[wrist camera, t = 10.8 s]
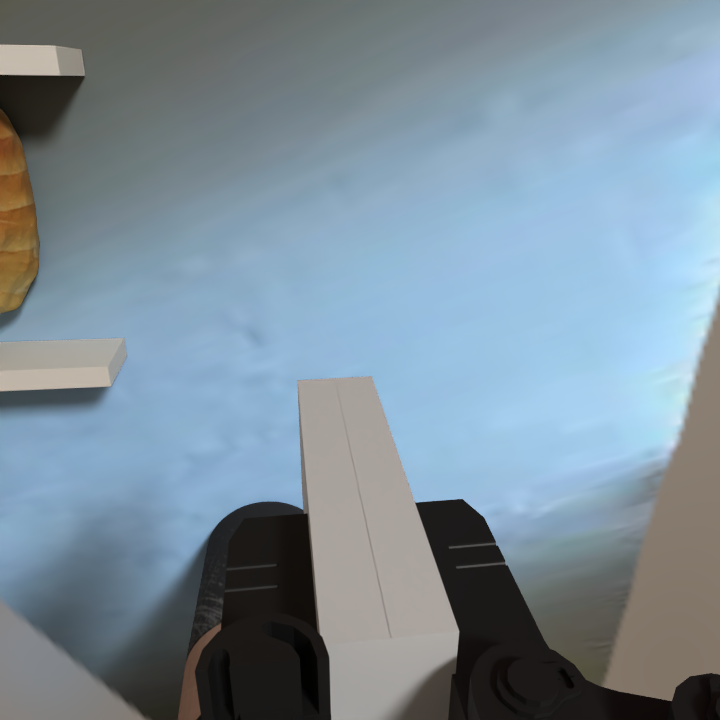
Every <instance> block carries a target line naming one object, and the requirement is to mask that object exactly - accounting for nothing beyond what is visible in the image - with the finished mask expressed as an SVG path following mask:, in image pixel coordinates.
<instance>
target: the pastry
mask: <svg viewBox="0 0 720 720" xmlns="http://www.w3.org/2000/svg"><path fill="white" fill-rule="evenodd" d="M39 246H40V242H39V236H38V231H37V218H36V208H35V202H34V197H33V192H32V187H31V183H30V178H29V174H28V169H27V164H26V159H25V154H24V150H23V146H22V143H21V140H20V138H19V137H18V135H17V133H16V131H15V130H14V128H13V126H12V124H11V122H10V120H9V118H8V117H7V115H6V114H5V113H4V112H3V111H2V109H0V313H3V312H8V311H12V310H15V309H17V308H18V307H19V306H20V305H21V304H22V302H23V300H24V298H25V295H26V293H27V291H28V289H29V287H30V285H31V283H32V281H33V280H34V278H35V277H36V275H37V272H38V267H39Z"/></svg>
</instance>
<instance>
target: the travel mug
mask: <svg viewBox="0 0 720 720" xmlns="http://www.w3.org/2000/svg"><path fill="white" fill-rule="evenodd" d="M293 514H304V510H302V509H300V508H298V507H295V506H293V505H290V504H286V503H280V502H259V503H254V504H250V505H247V506H244V507H241V508H239V509H237V510H235V511H234V512H232V513H230V514H229V515H228V516H226V517H225V518H224V519H223V520H222V521H221V522H220V523H219V524H218V526H217V527H216V528H215V530H214V532H213V534H212V535H211V538H210V541H209V544H208V549H207V553H206V558H205V563H204V568H203V574H202V579H201V584H200V590H199V595H198V601H197V606H196V611H195V617H194V622H193V627H192V633H191V638H190V643H189V649H188V654H187V659H186V666H185V671H184V678H183V685H182V693H181V700H180V707H179V714H178V720H196V719H197V718H198V717H199V716H200V715H201V712H200V705H199V698H198V691H197V685H196V678H195V669H196V666H197V663H198V660H199V658H200V655H201V652H202V649H203V648H204V647H205V646H206V645H207V644H208V643H209V641H210V640H211V639H212V638H213V637H214V636H215V635H216V634H217V632H218V631H220V630H221V622H222V611H223V600H224V594H225V578H226V572H227V557H228V546H229V540H230V539H231V537H232V536H233V534H234V533H235V531H236V530H237V528H238V527H239V526H240V524H241V523H242V521H243V520H244V518H255V517H268V516H280V515H293Z"/></svg>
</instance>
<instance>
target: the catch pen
mask: <svg viewBox="0 0 720 720" xmlns="http://www.w3.org/2000/svg"><path fill="white" fill-rule="evenodd" d="M0 75H52V76H85V71H84V65H83V58H82V51H81V50H79V49H73V48H66V47H60V46H40V45H0ZM126 357H127V353H126V346H125V339H124V338H106V339H76V340H47V341H17V342H0V391H16V390H40V389H63V388H86V387H110V386H112V384H113V382H114V380H115V378H116V376H117V374H118V372H119V370H120V368H121V367H122V365H123V363H124V361H125V359H126Z"/></svg>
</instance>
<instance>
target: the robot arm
mask: <svg viewBox="0 0 720 720" xmlns="http://www.w3.org/2000/svg"><path fill="white" fill-rule="evenodd" d="M298 403H299V427H300V450H301V473H302V495H303V508H304V514H293V515H280V516H268V517H255V518H244V520H243V521H242V523H241V524H240V526H239V527H238V528H237V530H236V531H235V533H234V534H233V536H232V537H231V539H230V540H229V546H228V557H227V572H226V578H225V594H224V600H223V611H222V622H221V630H220V631H218V632H217V634H216V635H215V636H214V637H213V638H212V639H211V640H210V641H209V643H208V644H207V645H206V646H205V647H204V648H203V649H202V652H201V655H200V658H199V660H198V663H197V666H196V669H195V678H196V685H197V691H198V698H199V705H200V712H201V715H200V716H199V717H198V718H197V719H196V720H720V675H718V674H712V673H710V674H703V675H697V676H691V677H689V678H688V679H686V680H685V681H684V682H682V683H681V684H680V685H679V686H677V687H676V690H675V693H674V697H673V700H672V701H667V700H662V699H656V698H651V697H645V696H640V695H634V694H629V693H624V692H618V691H614V690H611V689H607V688H604V687H600V686H598V685H596V684H594V683H592V682H589V681H587V680H586V679H585V678H584V677H583V675H582V674H581V673H580V671H579V670H578V669H577V668H576V666H575V665H574V664H573V663H571V662H570V661H568V660H567V659H566V658H564V657H563V656H561V655H560V654H559V653H557V652H556V651H554V650H551V649H549V647H548V645H547V644H546V642H545V641H544V639H543V637H542V635H541V633H540V631H539V629H538V627H537V625H536V622H535V620H534V618H533V616H532V614H531V612H530V610H529V608H528V606H527V604H526V602H525V600H524V598H523V596H522V594H521V592H520V590H519V588H518V586H517V584H516V582H515V580H514V578H513V576H512V574H511V572H510V570H509V567H508V565H507V566H506V565H505V559H504V557H503V555H502V553H501V551H500V549H499V547H498V546H496V541H495V539H494V537H493V535H492V533H491V531H490V529H489V527H488V525H487V523H486V521H485V519H484V517H483V516H481V515H480V514H479V513H478V512H477V511H476V510H474V509H473V508H472V507H471V506H470V505H469V504H467V503H466V502H465V501H464V500H463V499H457V500H444V501H431V502H419V503H415V501H414V498H413V495H412V492H411V489H410V487H409V484H408V481H407V478H406V475H405V472H404V469H403V466H402V463H401V460H400V457H399V455H398V452H397V449H396V446H395V443H394V440H393V437H392V434H391V431H390V428H389V425H388V423H387V420H386V417H385V414H384V411H383V408H382V405H381V402H380V399H379V396H378V393H377V391H376V388H375V385H374V382H373V379H372V376H369V377H351V378H332V379H314V380H298Z"/></svg>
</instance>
